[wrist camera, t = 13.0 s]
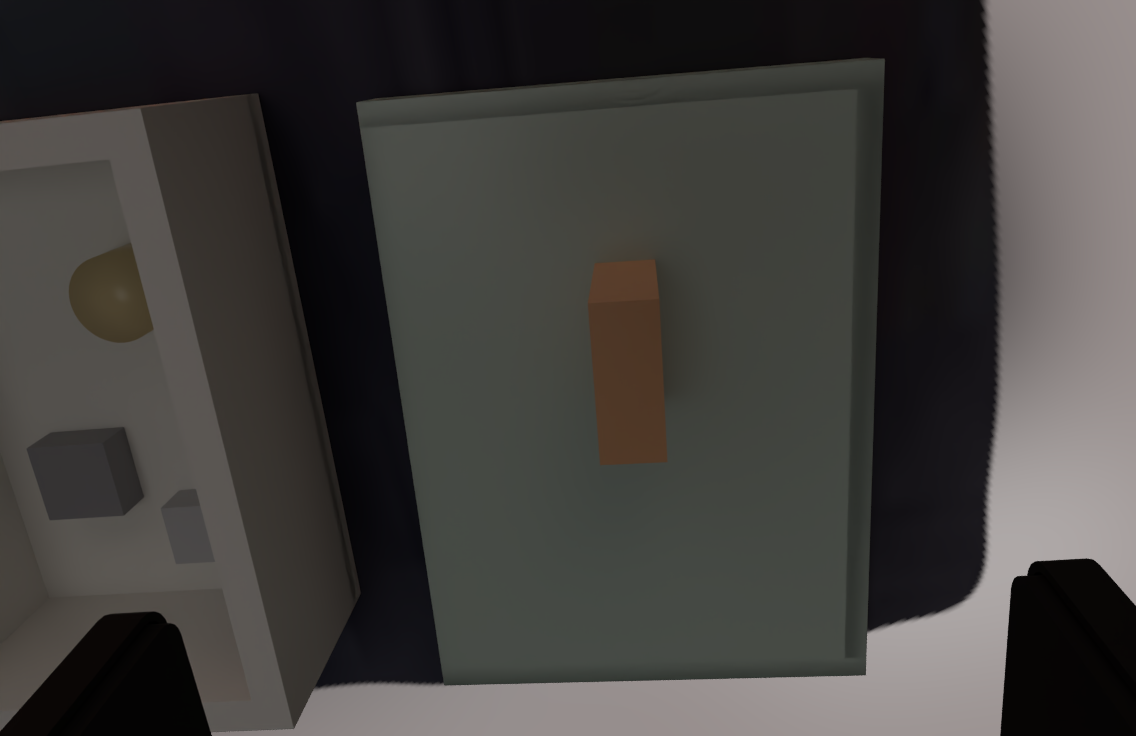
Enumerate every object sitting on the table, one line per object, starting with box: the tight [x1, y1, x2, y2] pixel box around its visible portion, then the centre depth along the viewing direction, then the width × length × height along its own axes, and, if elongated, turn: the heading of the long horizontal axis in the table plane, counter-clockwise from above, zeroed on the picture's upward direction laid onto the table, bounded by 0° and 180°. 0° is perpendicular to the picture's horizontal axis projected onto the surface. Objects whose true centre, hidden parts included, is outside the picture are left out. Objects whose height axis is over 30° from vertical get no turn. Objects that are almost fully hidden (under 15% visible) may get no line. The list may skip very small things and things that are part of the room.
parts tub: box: [0, 93, 361, 732], centre depth 32 cm, size 20×14×8 cm
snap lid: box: [356, 58, 885, 685], centre depth 31 cm, size 22×16×7 cm
